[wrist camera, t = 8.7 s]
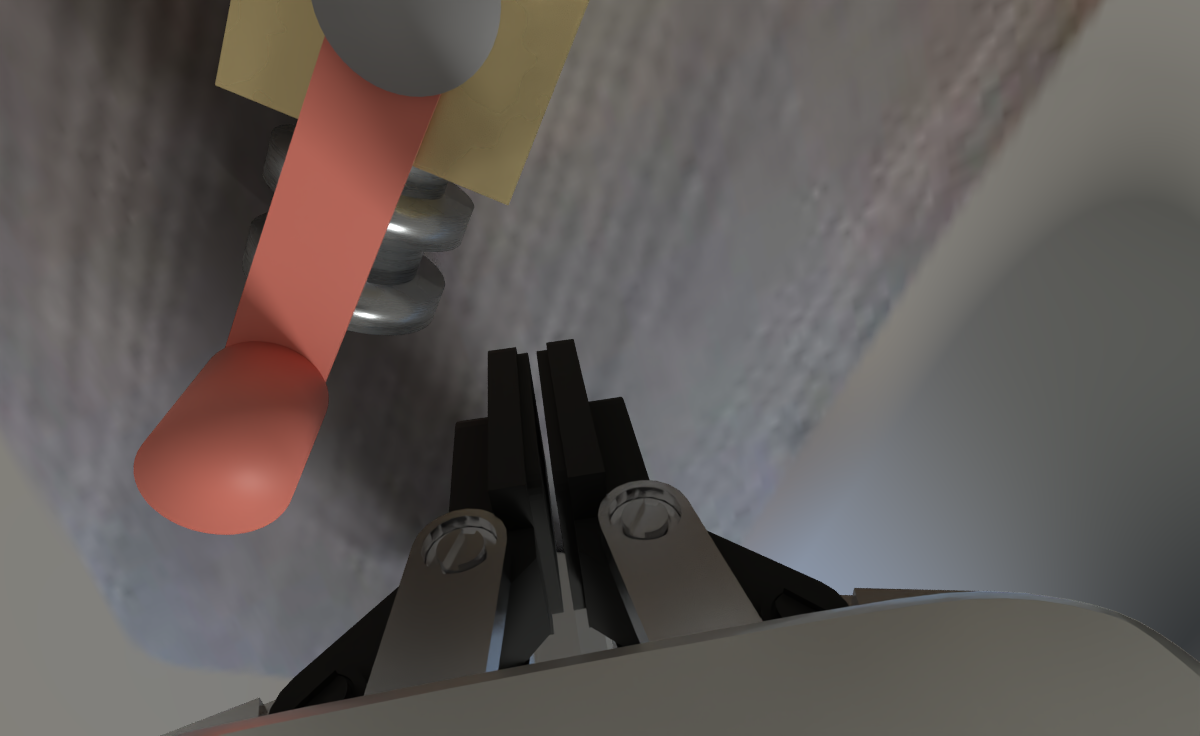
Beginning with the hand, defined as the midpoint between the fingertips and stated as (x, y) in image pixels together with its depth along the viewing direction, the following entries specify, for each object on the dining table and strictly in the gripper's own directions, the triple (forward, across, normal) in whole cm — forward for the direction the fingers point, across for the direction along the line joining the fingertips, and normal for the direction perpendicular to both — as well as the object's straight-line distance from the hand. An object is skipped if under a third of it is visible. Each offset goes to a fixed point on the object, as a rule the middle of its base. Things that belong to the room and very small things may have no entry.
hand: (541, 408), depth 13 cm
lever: (+6, +4, -3) cm, 8 cm away
